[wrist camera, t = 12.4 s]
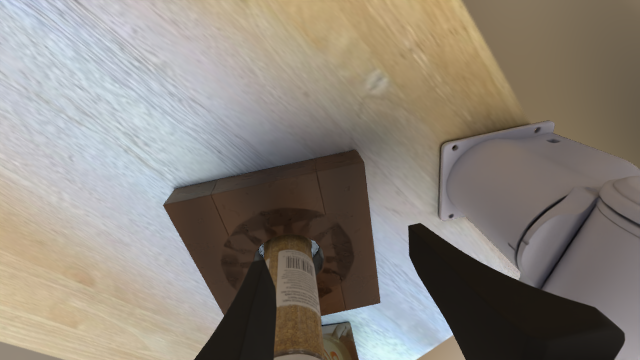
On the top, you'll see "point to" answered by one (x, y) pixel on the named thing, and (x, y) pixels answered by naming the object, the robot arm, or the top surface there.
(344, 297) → the holder
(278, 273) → the sprinkles bottle
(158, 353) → the top surface
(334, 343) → the coffee box
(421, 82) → the top surface
